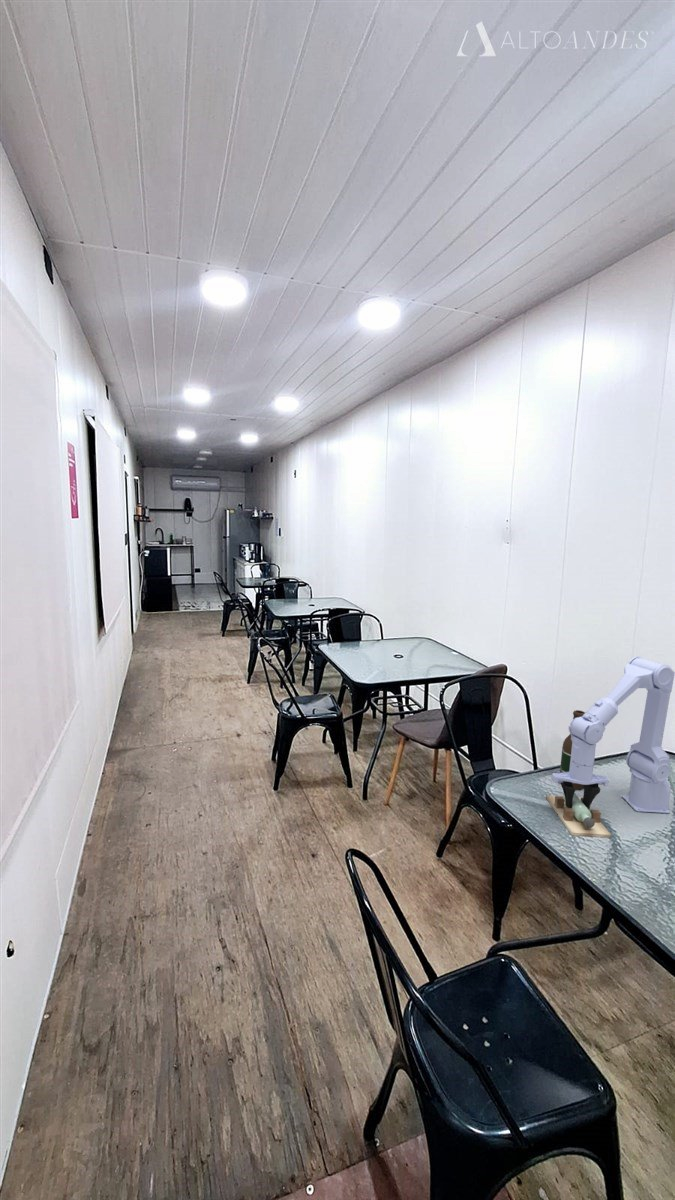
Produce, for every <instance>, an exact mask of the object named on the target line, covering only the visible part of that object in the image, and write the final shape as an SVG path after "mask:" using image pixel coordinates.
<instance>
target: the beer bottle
mask: <svg viewBox="0 0 675 1200" xmlns="http://www.w3.org/2000/svg"><path fill="white" fill-rule="evenodd" d="M585 713H586V712H585V711H583V710H579V709H575V710H573V712H572V714H573V718H572V720H573V719H575V718H578V717H582V716H583V715H584V714H585ZM561 749H562V750H561V758H560V765H559V766H560V768H559V773H563V772H569V769H570V760H571V751H572V740H571V734H570V733H569V734H568V735H567V736H566V738H564V740H563V742H562V748H561ZM572 785H573V787H574V789H575V791H581V790H584V785H583V784H578V783H572Z"/></svg>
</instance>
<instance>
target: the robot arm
mask: <svg viewBox="0 0 675 1200" xmlns="http://www.w3.org/2000/svg"><path fill="white" fill-rule="evenodd" d="M623 670H624V674H623V675H622V676H621V678H620V679H619V681H618V682H617V683H616V684H615V686H614V687H613V688H612V689H611V691H610V692H609V693H608V695H607V696H606V697H600V698H597V700H595V702H594V703H593V704H592V706H590V707H589V708H588V709H587V710H586V712H585V714H584V715H583V716H582V717H578V718H575V719H573V718H572V720H571V721H570V725H568V732H569V735H570V734H571V740H572V751H571V760H570V769H569V772H563V773H560V772H558V773H557V772H556V773H554V772H553V773H552V775H551V781H552V782H553V784H560V785H561V788H562V790H563V794H564V795H565V801H566V806H567V807H568V808H572V801H573V796H574V793H575V794H576V790H575V789H574V787H573V785H572V783H578V784H583V785H584V789H583V795H582V796H583V797H582V798H583V804H584V805H585V806H586V807H587V809H588V810H589V807H590V808H591V805H592V802H593V801H594V799H595V798H596V796H598V795H599V793H600V792H601V788H600V786H599V785H603V786H604V787H609V783H610V779H609V778H608V777H607V776H606V775H598V774H594V767H595V766H594V765H595V757H596V754H595V753H596V747H597V744H598V743H599V742H600V741H601V740H602V739H603V736H604V733H605V731H606V726H608V725H609V723H610V722H611V721H612V720H613V719H614V718H615V717H616V716H617V715H618V714H619V710H618V709H619V708H618V707H619V706H620V705H621V704H622V703H623V702H624V701H625V700H627V698H629V697H630V696H631V695H632V694H633V693H634V692H635V691H636V690H638V689H645V690H646V691H647V692H646V698H645V699H646V700H645V705H644V712H643V718H642V723H641V728H640V729H641V730H640V734H639V741H638V742H635V743H632V744H630V749H629V751H628V752H627V755H626V757H625V758H626V759H625V762H626V765H627V767H628V768H629V772H630V773H631V777H630V784H629V790H628V791H629V792H628V794H627V795H626V794H623V795H621V798H622V799H623V800H624V801H626V803H627V804H629V806H631V808H633V810H634V811H635V812H641V813H642V812H643V813H646V812H647V813H661V814H670V813H671V812H670V810H669V805H670V798H671V792H672V791H671V790H672V789H671V785H670V783H669V781H668V778H669V776H670V774H671V766H670V759H671V758H670V756H669V755H668V754H667V752H666V751H665V750H664V749H663V747H662V746H663V745H662V744H663V738H664V733H665V727H666V722H667V721H666V720H667V716H668V709H669V703H670V698H671V693H672V691H673V690H672V689H673V685H674V678H675V671H674V670H673V669H672V667H671V666H669V665H668V664H665V663H664V664H663V663H659V662H656V661H653V660H649V659H646V658H643V657H640V656H634V657H632V658H630V659H629V661H628V662H627V663H626V665H625V666H624V669H623Z"/></svg>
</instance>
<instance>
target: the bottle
mask: <svg viewBox="0 0 675 1200" xmlns="http://www.w3.org/2000/svg"><path fill="white" fill-rule="evenodd" d="M562 796H563V798H564V799H565V795H564V793H563V794H562ZM579 797H580V796H578V795H577V794H576V792H575V793H574V796H573V801H572V808H571V809H572V810H573V811H574V816H575V817H576V818H577V820H578V821H579V822H584V824H585V826H586V827H588V828H592V827H593V826H594V824H595V822H594V820H593V819H592V818H591V812H590V811H589V810H588V809H587V807H586V806H585V805H584V804H583V802H582V801H581V800H580V799H579ZM564 802H565V804H566V801H564Z"/></svg>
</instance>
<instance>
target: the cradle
mask: <svg viewBox="0 0 675 1200" xmlns="http://www.w3.org/2000/svg"><path fill="white" fill-rule="evenodd" d="M578 797H579V799H580V800H581V801H582V802H583V797H581V796H578ZM545 799H546V800H547V802H548V803H549V804H550V807H552V809H553V811H554V812H555V813H556V815H557V814H558V815H557V816H558V817H559V819H560V820H561V822H562V823H563V825H564V826H565V828H566V829H567V830H568V832H569V834H570V835H571V836H576V837H591V836H593V838H595V837H596V838H609V839H611V838H612V833H610V831H609V830H608V829H607V828H606V827H605V825H604V824H603V823H602V822H601V817H602V813H601V812H600V810H599V809H591V806H590V807H589V811H590V812H591V818H592V819H593V820H594V822H595V824H594V826H593V827H592V828H588V827H586V826H585V824H584V822H579V821H578V820H577V818H576V817H575V816H574V811H573V810H572V809H571V808H568V807H567V806H566V804H565V802H564V801H565V799H564V798H563V795H551V794H550V795H546V794H545Z"/></svg>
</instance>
